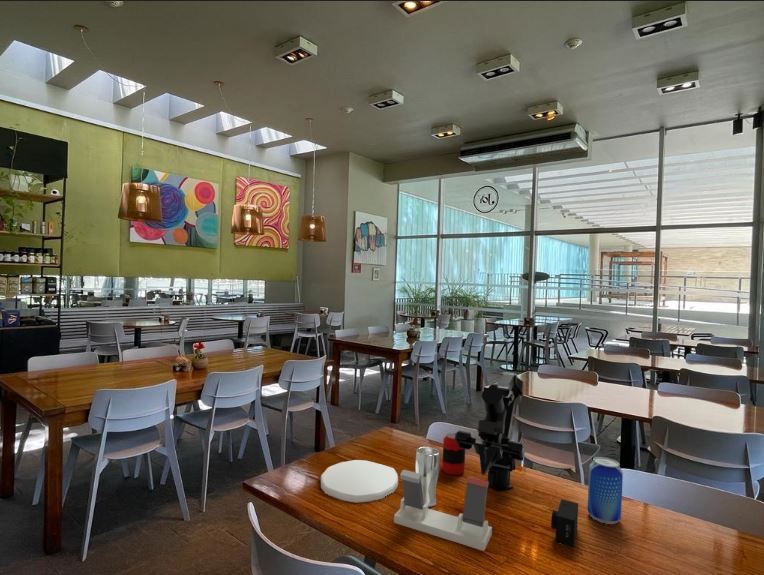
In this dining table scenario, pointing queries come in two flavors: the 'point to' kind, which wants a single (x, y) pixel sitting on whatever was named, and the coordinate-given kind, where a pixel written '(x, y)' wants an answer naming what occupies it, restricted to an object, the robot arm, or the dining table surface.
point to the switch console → (444, 525)
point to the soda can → (452, 456)
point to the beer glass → (428, 472)
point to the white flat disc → (359, 481)
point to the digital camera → (565, 522)
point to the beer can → (605, 490)
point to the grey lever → (412, 489)
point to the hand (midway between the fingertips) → (483, 474)
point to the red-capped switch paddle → (475, 501)
